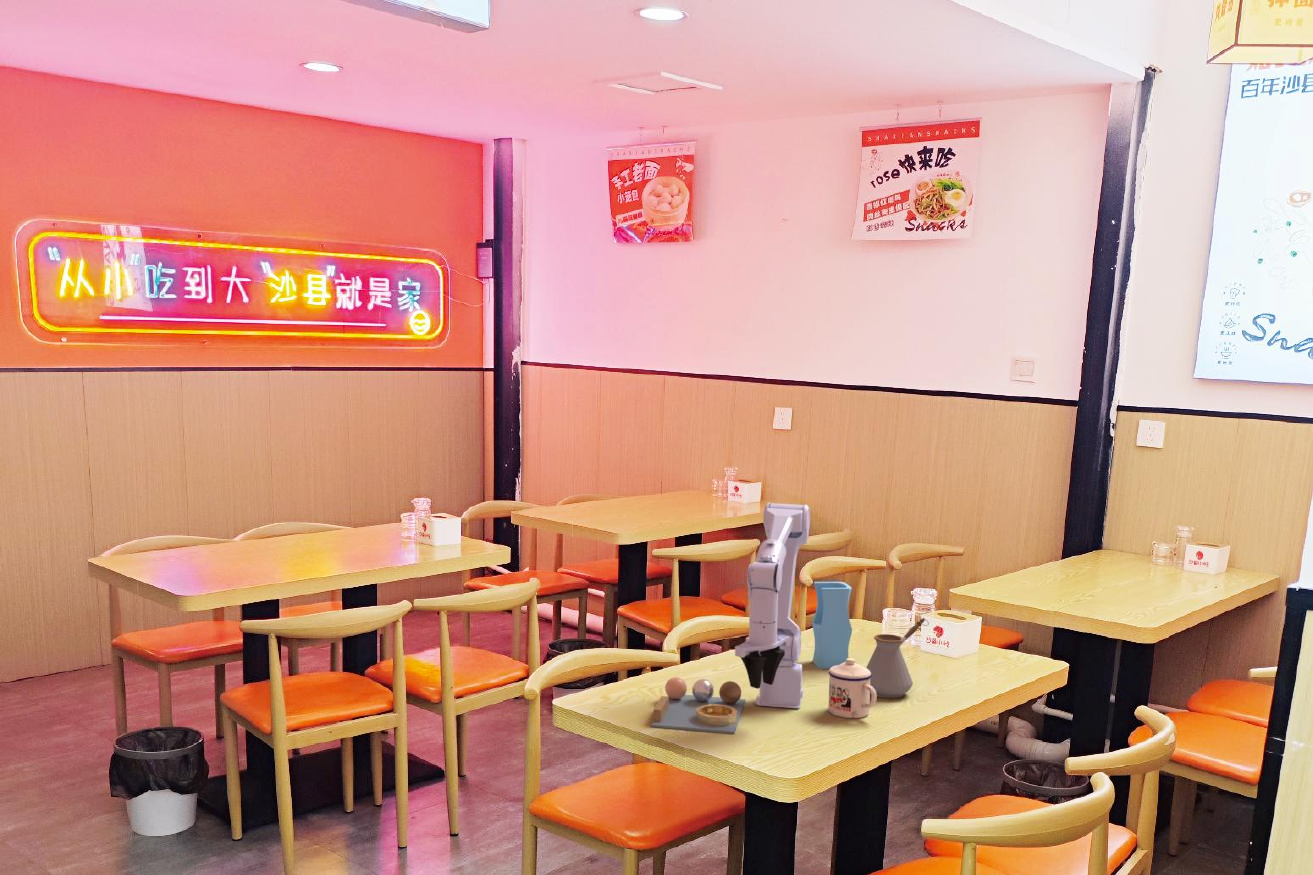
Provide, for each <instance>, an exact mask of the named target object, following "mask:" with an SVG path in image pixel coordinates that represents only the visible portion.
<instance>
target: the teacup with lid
mask: <svg viewBox="0 0 1313 875" xmlns="http://www.w3.org/2000/svg"><path fill="white" fill-rule="evenodd" d="M828 670H829V671H828V675H829V684H828V712H830V714H831V715H834V716H836V717H839V718H845V719H861V718H865V717H867V716H868V715H869V713H870V709H871V708H873V707H874V706H875V705H876V703H877V700H878V698H877V697H878V696H877V694H876V691H875V689H874V688H873V687H872V686H870V678H871V676H872V675H871V672H870V671H869V670H868V669H867V668H866V667H864V666H862V665H860V664H859V663H856V660H855V658H852V657H851V658H847V659H846V662H845V663H842V664H840V665H836V666H833V667H831V668H830V669H828ZM870 697H871V698H870Z"/></svg>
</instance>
